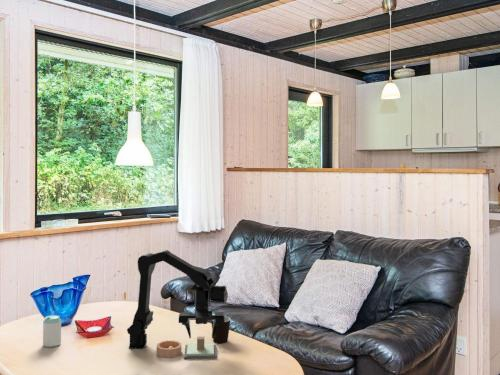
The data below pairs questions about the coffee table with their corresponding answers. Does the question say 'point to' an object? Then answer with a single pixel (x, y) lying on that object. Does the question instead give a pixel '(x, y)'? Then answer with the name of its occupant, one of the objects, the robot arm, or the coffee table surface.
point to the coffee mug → (221, 331)
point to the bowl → (169, 349)
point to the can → (52, 331)
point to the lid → (200, 348)
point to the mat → (200, 356)
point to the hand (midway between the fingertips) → (201, 338)
